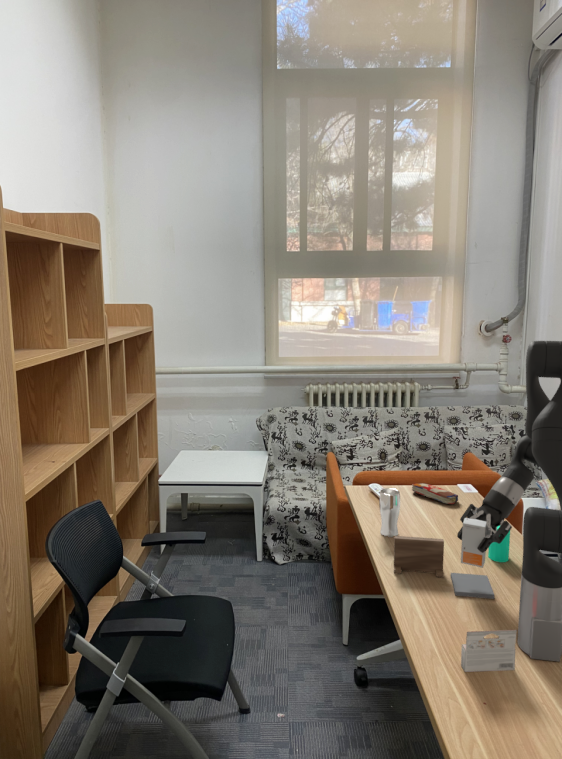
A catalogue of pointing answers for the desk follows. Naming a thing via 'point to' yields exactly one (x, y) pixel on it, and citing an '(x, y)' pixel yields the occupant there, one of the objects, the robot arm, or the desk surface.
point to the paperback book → (435, 493)
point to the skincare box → (473, 542)
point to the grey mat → (472, 585)
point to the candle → (500, 550)
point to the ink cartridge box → (489, 651)
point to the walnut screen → (418, 555)
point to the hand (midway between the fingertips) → (469, 544)
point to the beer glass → (389, 511)
